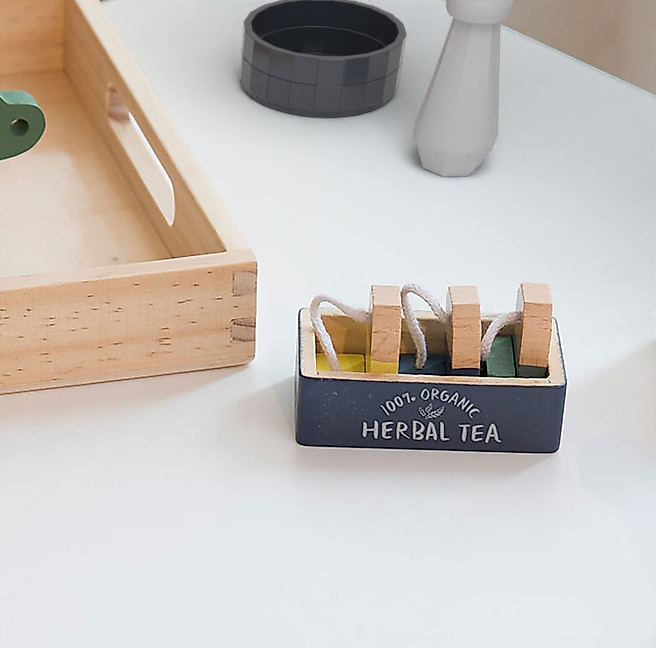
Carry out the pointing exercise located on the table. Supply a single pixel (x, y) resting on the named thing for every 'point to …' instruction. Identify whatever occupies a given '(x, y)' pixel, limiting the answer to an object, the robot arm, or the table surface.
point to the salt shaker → (463, 91)
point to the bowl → (321, 56)
